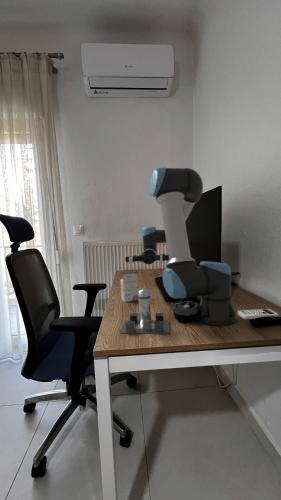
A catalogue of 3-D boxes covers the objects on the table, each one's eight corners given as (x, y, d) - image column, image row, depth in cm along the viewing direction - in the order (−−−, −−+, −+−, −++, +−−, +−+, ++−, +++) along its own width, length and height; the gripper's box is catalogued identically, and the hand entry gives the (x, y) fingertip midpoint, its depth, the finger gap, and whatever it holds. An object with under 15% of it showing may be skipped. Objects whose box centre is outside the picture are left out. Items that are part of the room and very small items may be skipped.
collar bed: (169, 321, 98) (168, 312, 98) (169, 333, 86) (169, 324, 86) (125, 321, 100) (125, 313, 100) (119, 333, 88) (119, 324, 88)
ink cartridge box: (135, 298, 136) (134, 272, 135) (139, 300, 132) (137, 273, 131) (121, 300, 133) (119, 273, 132) (124, 302, 129) (122, 275, 127)
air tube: (152, 323, 95) (150, 288, 94) (151, 328, 91) (149, 291, 90) (140, 323, 96) (138, 288, 95) (139, 328, 91) (137, 291, 91)
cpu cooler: (202, 306, 95) (177, 310, 94) (203, 320, 96) (179, 324, 95) (192, 299, 106) (170, 303, 104) (194, 311, 106) (172, 316, 105)
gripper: (173, 262, 124) (174, 267, 103) (125, 264, 127) (117, 270, 106) (172, 248, 124) (174, 250, 103) (124, 250, 127) (116, 252, 106)
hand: (145, 260), depth 105 cm, fingers open, 13 cm apart
